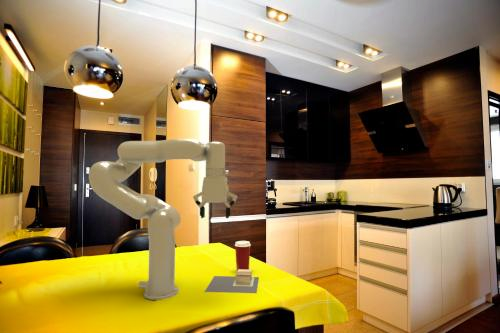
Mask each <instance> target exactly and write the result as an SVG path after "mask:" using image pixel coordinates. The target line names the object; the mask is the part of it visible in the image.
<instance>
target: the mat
mask: <svg viewBox="0 0 500 333" xmlns="http://www.w3.org/2000/svg"><path fill="white" fill-rule="evenodd" d="M235 276H236V275H235ZM235 276H230V275H229V276H227V275H214V276H213V277H212V279H211V280H210V281H209V284H208V285H207V286H206V288H205V290H204V293H230V294H231V293H232V294H233V293H234V294H238V293H239V294H257V293H258V286H259V281H260V280H259V279H260V277H259V276H252V280H251V284H250V285H235Z"/></svg>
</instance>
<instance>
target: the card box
mask: <svg viewBox="0 0 500 333" xmlns="http://www.w3.org/2000/svg"><path fill="white" fill-rule="evenodd" d="M252 277H253V270H252V269H249V270H244V269H238V271H237V270H236V274H235V285H250V284H251V280H252Z"/></svg>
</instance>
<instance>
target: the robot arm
mask: <svg viewBox="0 0 500 333" xmlns="http://www.w3.org/2000/svg"><path fill="white" fill-rule="evenodd" d="M117 155H118V157H119V158H118V159H117V160H116V161H109V160H105V161H104V160H101V161H98V162H95V163H94V164H92V166H91V167H90V169H89V172H88V182H89V185H90V187H91V189H92V190H93V192H94V193H95V194H96V195H97V196H98V197H100V198H101V199H103V200H104V201H105V202H107V203H108V204H111V205H112V206H113V207H115V208H116V209H118V210H120V211H121V212H123V213H125V214H126V215H127V216H130V217H131V218H133V219H135V220H143V219H147V220H148V222H147V233H148V279H147V281H145V280H144V281H142V280H140V281H138V289H145V290H144V292H143V297H144V298H145V299H147V300H150V301H151V300H152V301H158V300H164V299H169V298H173V297H175V296H176V295H178V293H179V291H180V288H179V286H178V285H175V284H176V283H175V280H176V279H175V278H176V276H175V275H176V273H175V272H176V270H175V269H176V239H175V238H176V237H175V236H176V235H175V229H176V228H177V227H178V226H179V225H180V224H181V220H182V219H181V214H180V212H179V210H177V209H176V208H175V207H173V206H171V205H170V204H169V203H166V202H165V201H163V200H162V199H160V198H158V197H156V196H154V195H152V194H148V193H145V194H142V193H141V194H140V193H138V192H136V191H135V190H133V189H131V188H130V187H128V186H127V185H125V184H122V183H123V182H124V181H125V180H127V179H129V177H130V176H132V175H133V174H134V173H135V172H136V171H137V170H138V169H140V167H142V165H144V164H145V163H146V164H147V163H148V164H149V163H150V164H151V163H164V162H166V161H171V160H191V161H194V162H204V161H205V176H204V177H203V180H202V186H201V192H198V193H197V194H194V195H192V199H193V200H194V203H195V204H196V205H197V206H198V208H199V216H200V219H203V218H205V217H206V216H205V215H206V214H205V213H206V210H205V209H206V207H205V205H206V204H208V203H209V204H211V203H212V204H224V205H225V206H226V208H225V219H229V218H230V217H231V208H232V206H233V205H234V204H236V201H237V199H238V195H236V194H234V193H232V192H230V191H229V181H228V177H227V176H226V175H229V174H230V172H229V170H226V145H225V143H224V142H221V141H210V142H207V143H202V142H201V141H199V140H197V139H195V138H194V139H193V138H179V139H178V138H173V139H164V140H129V141H124V142H122V143H120V145H119V146H118V148H117ZM200 197H201V201H200V200H199V198H200ZM230 198H232V200H231V201H229V200H230Z"/></svg>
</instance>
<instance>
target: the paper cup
mask: <svg viewBox="0 0 500 333" xmlns="http://www.w3.org/2000/svg"><path fill="white" fill-rule="evenodd" d="M251 246H252V245H251V243H250V241H247V240H238V241H235V244H234V248H235V263H236V264H235V266H236V272H237V271H238V269H244V270H250V256H251V255H250V254H251Z"/></svg>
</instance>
